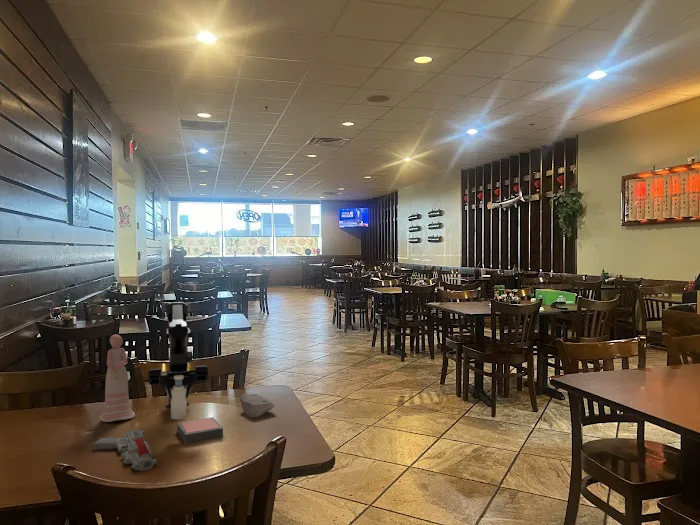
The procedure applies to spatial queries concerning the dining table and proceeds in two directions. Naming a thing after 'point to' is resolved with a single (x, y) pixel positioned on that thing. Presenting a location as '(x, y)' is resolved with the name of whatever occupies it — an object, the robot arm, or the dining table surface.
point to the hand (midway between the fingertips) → (178, 397)
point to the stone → (255, 405)
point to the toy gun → (130, 449)
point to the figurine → (116, 384)
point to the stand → (199, 430)
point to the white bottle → (178, 399)
